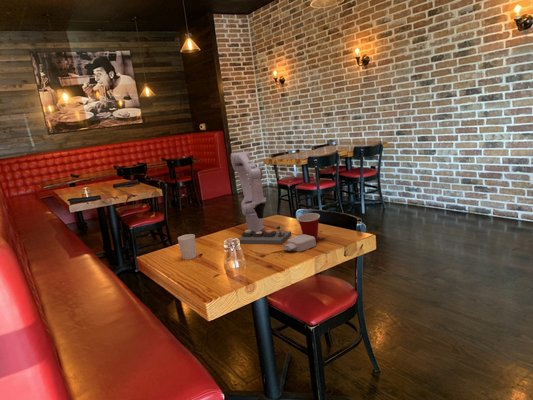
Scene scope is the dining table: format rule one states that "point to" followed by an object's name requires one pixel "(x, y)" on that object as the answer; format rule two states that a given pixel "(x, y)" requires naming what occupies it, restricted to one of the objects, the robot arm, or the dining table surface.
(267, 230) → the button terracotta
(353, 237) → the dining table surface
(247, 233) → the button sage
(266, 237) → the control panel
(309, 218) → the plastic cup
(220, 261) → the dining table surface
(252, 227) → the robot arm
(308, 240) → the white bottle
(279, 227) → the toggle lever
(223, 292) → the dining table surface
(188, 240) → the white cup
